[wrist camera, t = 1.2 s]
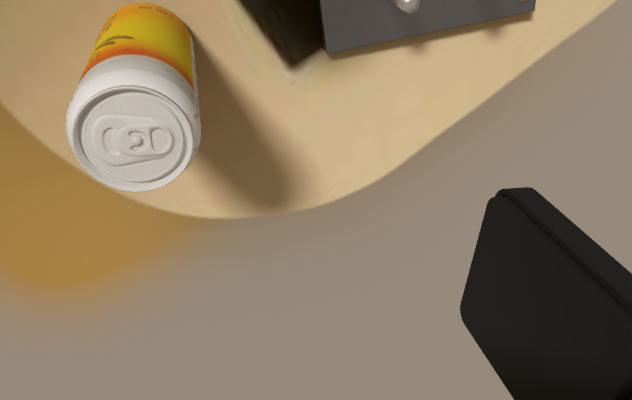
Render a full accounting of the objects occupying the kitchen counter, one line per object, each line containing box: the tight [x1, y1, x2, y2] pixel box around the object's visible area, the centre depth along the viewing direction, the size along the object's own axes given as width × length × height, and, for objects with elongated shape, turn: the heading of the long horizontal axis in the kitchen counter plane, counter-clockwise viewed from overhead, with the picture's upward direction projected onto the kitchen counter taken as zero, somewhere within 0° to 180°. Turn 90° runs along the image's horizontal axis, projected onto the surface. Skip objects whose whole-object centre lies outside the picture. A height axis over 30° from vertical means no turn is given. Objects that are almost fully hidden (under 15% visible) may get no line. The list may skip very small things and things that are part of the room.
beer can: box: [66, 3, 201, 192], centre depth 31 cm, size 6×6×15 cm
